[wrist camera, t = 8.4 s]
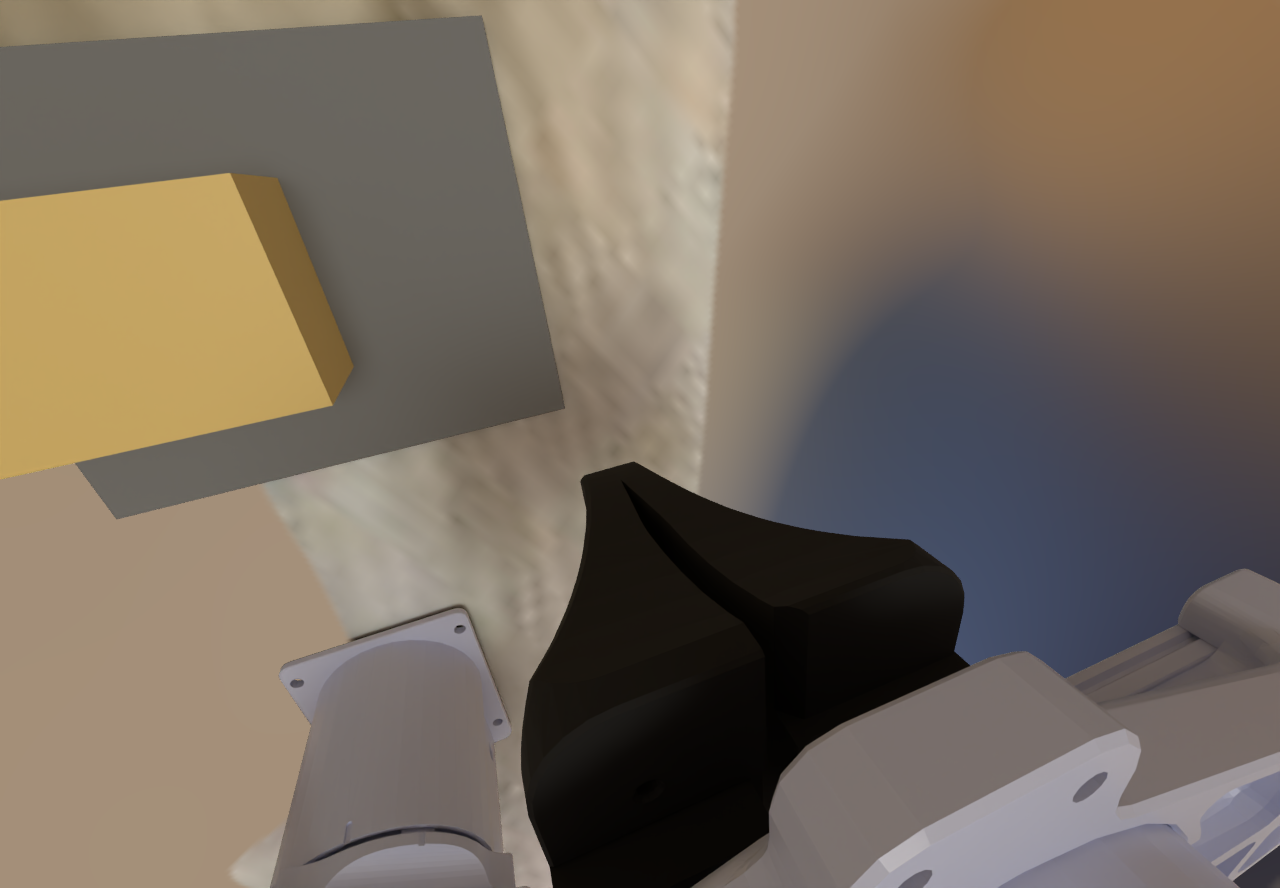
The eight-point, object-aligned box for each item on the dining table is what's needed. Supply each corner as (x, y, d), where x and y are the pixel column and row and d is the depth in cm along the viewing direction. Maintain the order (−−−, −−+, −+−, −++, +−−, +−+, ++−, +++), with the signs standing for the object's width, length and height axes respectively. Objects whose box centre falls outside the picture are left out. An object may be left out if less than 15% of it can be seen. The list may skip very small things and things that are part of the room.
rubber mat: (563, 405, 22) (565, 408, 22) (122, 513, 18) (116, 519, 18) (481, 19, 16) (481, 15, 16) (-205, 65, 12) (-223, 61, 12)
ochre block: (333, 405, 15) (-57, 492, 13) (353, 366, 18) (49, 429, 16) (229, 172, 12) (-288, 235, 10) (277, 178, 16) (-103, 225, 13)
